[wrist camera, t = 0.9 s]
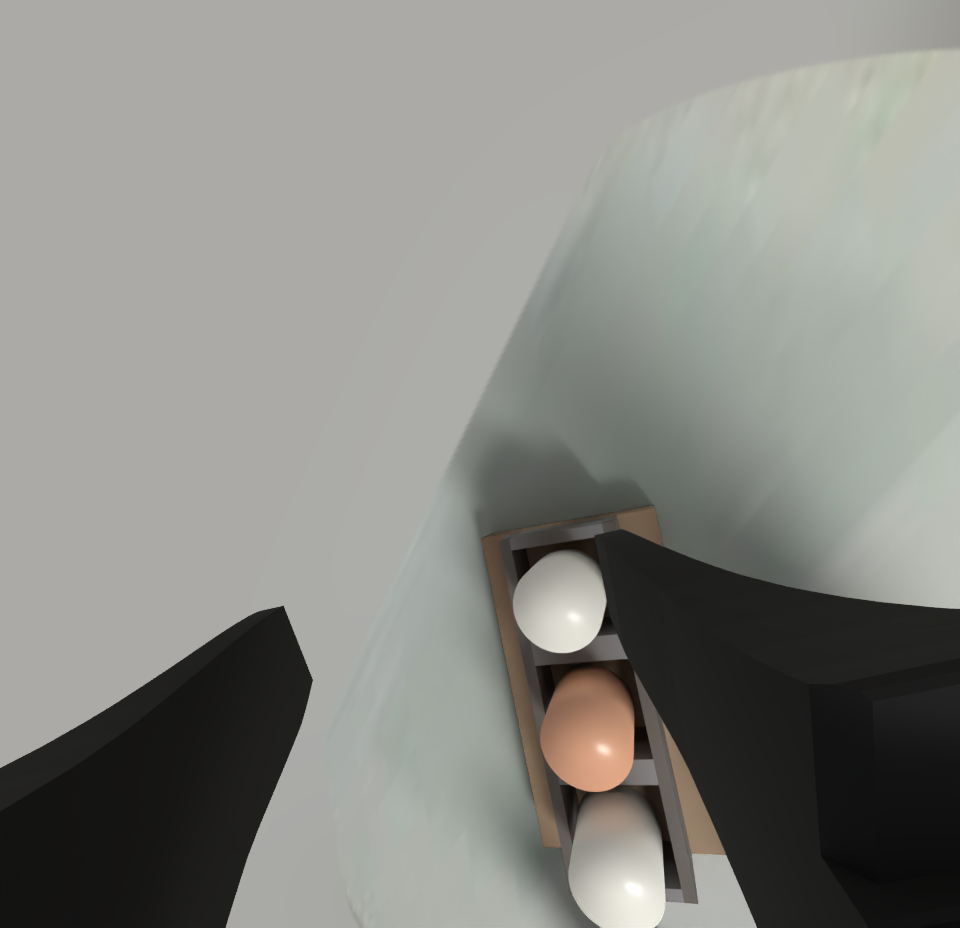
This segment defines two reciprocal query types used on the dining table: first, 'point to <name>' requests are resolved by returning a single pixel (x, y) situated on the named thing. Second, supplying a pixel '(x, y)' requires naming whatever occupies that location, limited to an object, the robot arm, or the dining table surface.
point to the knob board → (540, 670)
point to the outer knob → (561, 601)
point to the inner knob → (618, 860)
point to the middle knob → (590, 728)
